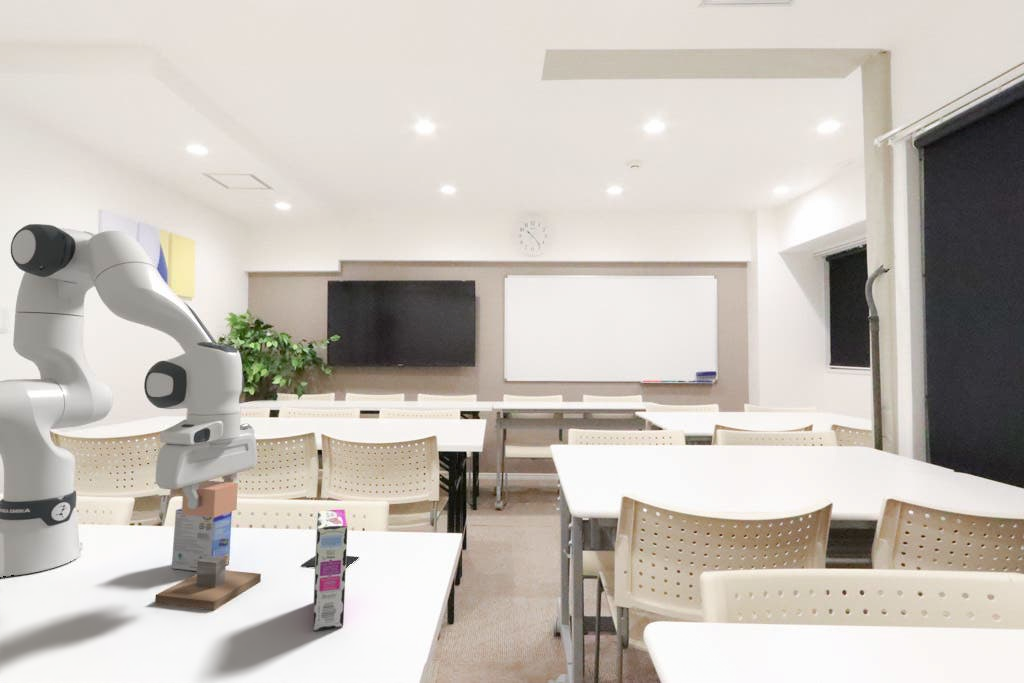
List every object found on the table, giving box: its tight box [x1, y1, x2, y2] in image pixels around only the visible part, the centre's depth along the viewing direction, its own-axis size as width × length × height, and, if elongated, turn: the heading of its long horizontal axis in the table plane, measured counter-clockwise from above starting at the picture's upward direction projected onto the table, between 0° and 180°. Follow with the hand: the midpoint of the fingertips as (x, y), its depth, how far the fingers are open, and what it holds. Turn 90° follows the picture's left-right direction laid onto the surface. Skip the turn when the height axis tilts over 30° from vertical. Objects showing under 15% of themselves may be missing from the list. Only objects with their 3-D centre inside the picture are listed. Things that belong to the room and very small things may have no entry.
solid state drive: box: [300, 555, 360, 569], centre depth 109 cm, size 7×10×1 cm
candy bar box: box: [312, 509, 348, 632], centre depth 87 cm, size 11×5×16 cm, turn 21°
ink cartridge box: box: [171, 507, 233, 572], centre depth 107 cm, size 10×6×14 cm, turn 78°
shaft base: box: [154, 556, 262, 611], centre depth 95 cm, size 12×12×6 cm
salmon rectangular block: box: [181, 480, 239, 518], centre depth 94 cm, size 5×7×5 cm
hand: (209, 502), depth 94 cm, fingers closed on salmon rectangular block, 5 cm apart
